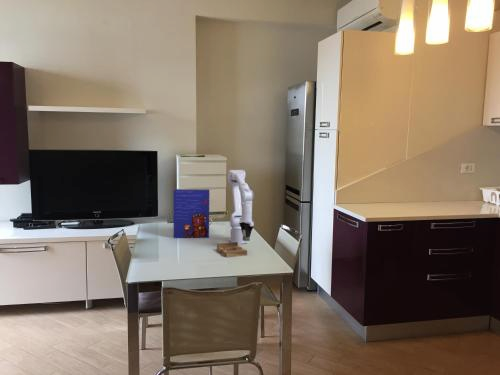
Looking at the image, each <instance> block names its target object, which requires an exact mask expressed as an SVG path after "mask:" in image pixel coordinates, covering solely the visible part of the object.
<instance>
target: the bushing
mask: <svg viewBox="0 0 500 375" xmlns="http://www.w3.org/2000/svg"><path fill="white" fill-rule="evenodd" d="M250 238H251V236H250V237H246V232H245V229H243V241H245V242H247V241H250V240H251V239H250Z"/></svg>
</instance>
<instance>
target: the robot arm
mask: <svg viewBox="0 0 500 375" xmlns="http://www.w3.org/2000/svg"><path fill="white" fill-rule="evenodd" d="M246 175H247V174H246V171H245V169H229V170H228V171H227V182H228V185H230V186H231V191H232V203H233V212H232V213H231V214H230V216H229V226H230V227H231V229H230V239H229V240H228V241H229V243H231V242H238V245H243V244H247V243H248V242H247V241H243V229H245V232H246V237H250V238H251V234H252V231H253V229H254V227H255V222H254V221H253V202H254V200H255V194H254V191H253V190H252V189H250V186H249V185H248V183H247V182H246V181H245V179H246Z"/></svg>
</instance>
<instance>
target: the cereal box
mask: <svg viewBox="0 0 500 375" xmlns="http://www.w3.org/2000/svg"><path fill="white" fill-rule="evenodd" d="M209 219H210V189H201V188H200V189H197V188H196V189H195V188H194V189H192V188H190V189H189V188H181V189H179V188H173V239H209V238H210V226H209V224H210V220H209Z"/></svg>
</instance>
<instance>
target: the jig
mask: <svg viewBox="0 0 500 375" xmlns="http://www.w3.org/2000/svg"><path fill="white" fill-rule="evenodd" d="M216 251H217V252H218V253H220V255H223V256H224V257H225V258H235V257H241V256H243V257H244V256H248V250H246V249H245V248H244V247H242V246H240V245H239V244H238V242H223V243H221V242H220V243H216Z"/></svg>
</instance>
